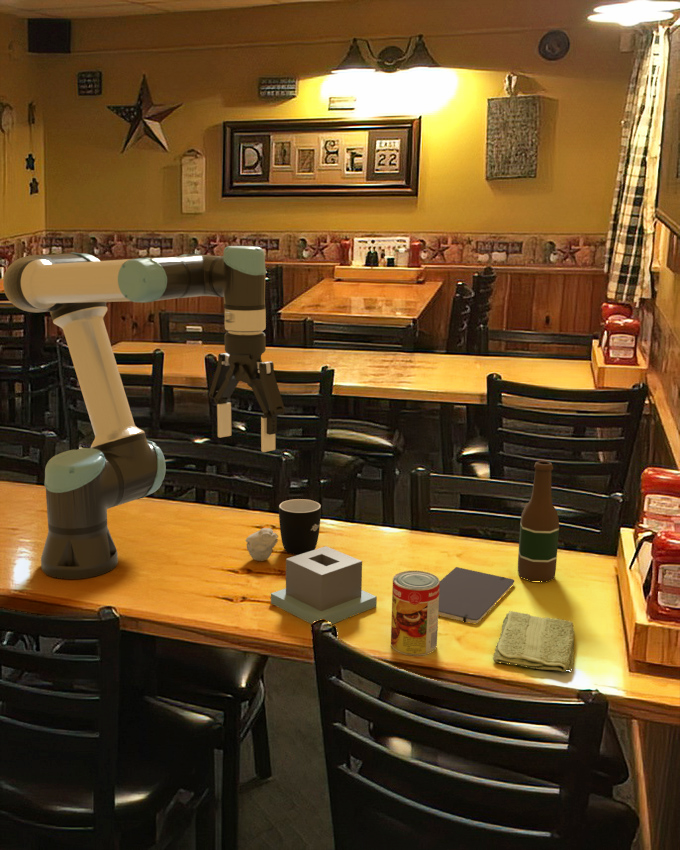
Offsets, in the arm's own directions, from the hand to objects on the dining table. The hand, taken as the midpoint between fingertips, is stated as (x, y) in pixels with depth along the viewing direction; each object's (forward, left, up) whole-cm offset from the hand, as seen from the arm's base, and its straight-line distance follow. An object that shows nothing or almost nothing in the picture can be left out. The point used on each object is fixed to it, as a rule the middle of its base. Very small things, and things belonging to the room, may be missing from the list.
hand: (245, 443), depth 176 cm
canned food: (+39, +6, -29) cm, 49 cm away
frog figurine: (-8, +10, -29) cm, 32 cm away
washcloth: (+53, +21, -29) cm, 65 cm away
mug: (-8, +21, -29) cm, 37 cm away
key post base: (+17, +5, -29) cm, 34 cm away
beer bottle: (+35, +47, -29) cm, 65 cm away
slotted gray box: (+17, +5, -27) cm, 32 cm away
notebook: (+32, +28, -29) cm, 52 cm away
